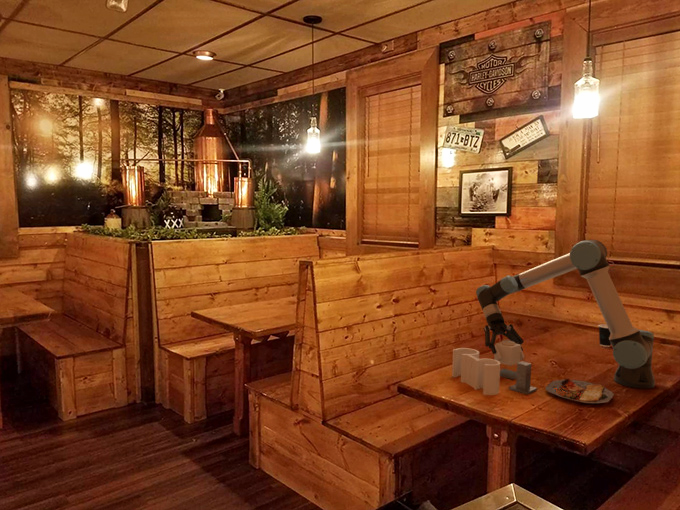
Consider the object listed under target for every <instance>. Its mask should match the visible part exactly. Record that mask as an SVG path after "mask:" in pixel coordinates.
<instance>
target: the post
mask: <svg viewBox="0 0 680 510" xmlns="http://www.w3.org/2000/svg"><path fill="white" fill-rule="evenodd" d="M516 372H517V376H516V379H515V380H516V381H515V384H513V385H512V384H511V385H509V386H508V390H509V391H513V392H516V393H519V392H520V394H522V393H524V394H523V395H526V394H528V395H530V394H532V393H534V391H535V392H537V391H538V387H535V386H532V385H531V379H532V378H531V377H532V363H531V362H527V361H523V360H520V362H519V363H517V364H516ZM536 390H537V391H536Z"/></svg>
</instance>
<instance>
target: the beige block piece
mask: <svg viewBox="0 0 680 510" xmlns="http://www.w3.org/2000/svg"><path fill="white" fill-rule="evenodd" d="M495 345H497V348H498V351H499V353H500V356H501V360H500V361H499V362H500V365H501V364H502V365H505V366H510V367H511V366H514V365H517V363H519V362H521V360H520V355H521V346H522V344H521V345H520V344H516V343H515V342H513V341H510V340H509V339H504V340H501V341H499V342H497V343H496V342H495V344H494V346H495ZM493 356H494V357H493V359H494V360H497V359H496V357H495V354H493Z"/></svg>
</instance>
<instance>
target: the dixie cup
mask: <svg viewBox="0 0 680 510" xmlns="http://www.w3.org/2000/svg"><path fill="white" fill-rule="evenodd" d="M597 326H598V334H599V335H598V337H599V346H600V347H602V346H603V348H610V347H611V346H612V345H611V343H610V340H609V337H610V334H611V333H610V331H609V328H608V326H607V324H605V323H604V324H598V325H597Z"/></svg>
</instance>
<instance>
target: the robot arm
mask: <svg viewBox="0 0 680 510" xmlns="http://www.w3.org/2000/svg"><path fill="white" fill-rule="evenodd" d="M607 257H608V250H607V247H606V245H605V244H604V243H603V242H601V241H600V240H598V239H588V240H587V239H585V240H581V241H579V242H576V244H574V245H573V246H572V248H571V249H570V252H569V253H566V254H564V255H562V256H559V257H557V258H554V259H552V260H549V261H547V262H544V263H542V264H539V265H537V266H535V267H533V268H530V269H528V270H525V271H523V272H520V273H518V274H515V275H513V276H512V275H506V276H505V277H502V278H501V279H500V280H498V281H496V282H495V283H494V284H493V285H488V284H487V285H486V284H484V285H480V286H479V287H477V289H476V291H475V295H476V298H477V301H478V303H479V305H480V307H481V310H482V313H483V316H484V318H485V320H486V323H487V324H486V325H484V327H483V331H484V342H485V343H484V345H485V346H484V347H487V348H488V349H490V350H491V352H492V355H494V354H495V357H496V359H497V361H500V360H501V356H500V353H499V351H498V348H497V345H495V344H496V338H497V336H499V335H501V336H503V337H506V338H507V340H509V341H513V342H515V343H516V344H520V345H521V355H520V361H523V359H525V358H526V357H525V354H524V352H523V351H524V349H523V346H522V345H523V344H524V342H525V341H524V340H523V338H522V337H521V335H519V333H518V332H517V330H516V329H515V328H514V326H513V324H512V323H509V324H508V325H507V324H506V323H505V319H504V315H503V314H502V311H501V309H500V307H499V304H498V302H499V301H500V300H503V299H504V298H505V297H508V296H509V295H512V294H515V293H518V292H521V291H522V290H525V289H528V288H530V287H532V286H533V287H534V286H535V285H537V284H540V283H543V282H546V281H548V280H551V279H554V278H556V277H559V276H562V275H563V274H567V273H569V272H572V271H575V270H577V271H578V273H579V276H580V277H581V278H584V279H586V282H587V283H588V286H589V288H590V291H591V293H592V295H593V297H594V299H595V301H596V303H597V306H598V308H599V310H600V312H601V315H602V317H603V319H604V322H605V325H607V326H608V328H609V331H610V333H611V334H610V337H609V340H610V343H611V345H610V346H611V347H612V356H613V359H614V360H615V362H616V363H617V364H618V367H617V368H616V370H615V372H614V377H613V381H614V382H615V383H617V384H619V385H622V386H625V387H630V388H634V389H644V390H645V389H647V390H649V389H652V388H655V386H656V385H655V384H656V383H655V382H656V380H655V376H654V372H653V370H652V369H653V368H652V362H653V352H654V351H653V349H654V340H655V338H654V337H655V335H654V333H653V332H652V331H648V330H644V329H639V328H637V327H634V326H633V324H632V322H631V319H630V318H629V316H628V313H627V310H626V308H625V306H624V305H623V301H622V299H621V298H620V296H619V293H618V291H617V289H616V287H615V284H614V282H613V280H612V278H611V275H610V274H609V269H610V264H609V262H608V259H607ZM491 332H492V333H491Z"/></svg>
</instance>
